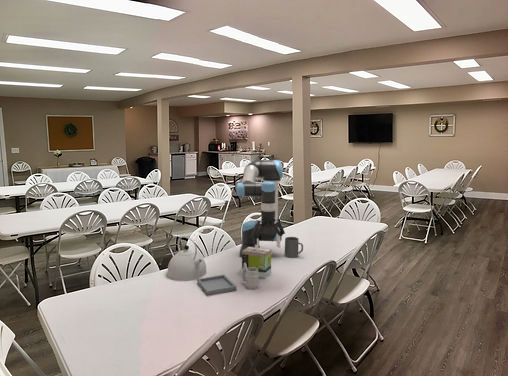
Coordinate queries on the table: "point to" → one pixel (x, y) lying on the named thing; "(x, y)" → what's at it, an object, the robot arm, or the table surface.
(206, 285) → the tray
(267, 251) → the tea box
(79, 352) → the table surface
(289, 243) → the mug
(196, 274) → the kettle
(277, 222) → the robot arm
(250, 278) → the mug
